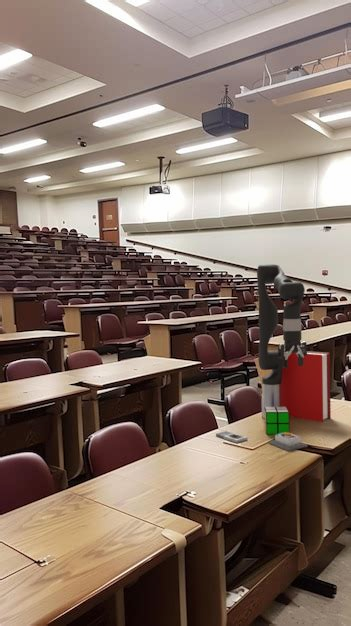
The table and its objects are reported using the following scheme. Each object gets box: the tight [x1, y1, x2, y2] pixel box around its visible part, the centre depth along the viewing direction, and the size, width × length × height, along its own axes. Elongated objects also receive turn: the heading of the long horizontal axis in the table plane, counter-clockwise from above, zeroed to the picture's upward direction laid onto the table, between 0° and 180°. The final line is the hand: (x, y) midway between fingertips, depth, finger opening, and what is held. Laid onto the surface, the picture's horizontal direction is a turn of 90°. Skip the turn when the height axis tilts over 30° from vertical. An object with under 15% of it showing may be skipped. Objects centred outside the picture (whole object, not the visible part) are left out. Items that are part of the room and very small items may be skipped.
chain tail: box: [215, 430, 248, 444], centre depth 207 cm, size 13×6×1 cm, turn 37°
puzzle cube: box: [263, 407, 290, 436], centre depth 215 cm, size 10×10×10 cm
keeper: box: [268, 431, 308, 452], centre depth 196 cm, size 12×10×5 cm
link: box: [274, 433, 302, 447], centre depth 196 cm, size 8×6×3 cm
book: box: [273, 349, 332, 423], centre depth 239 cm, size 27×8×32 cm, turn 48°
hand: (292, 367), depth 205 cm, fingers open, 8 cm apart
